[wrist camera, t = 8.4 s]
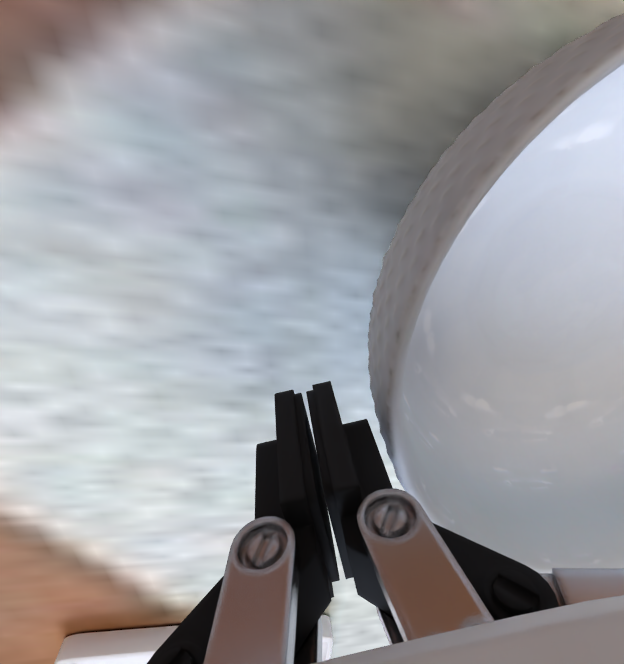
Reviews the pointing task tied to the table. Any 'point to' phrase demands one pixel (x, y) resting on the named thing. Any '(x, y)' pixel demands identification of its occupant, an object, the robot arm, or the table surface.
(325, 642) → the phone case
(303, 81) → the table surface
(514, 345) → the cereal bowl
